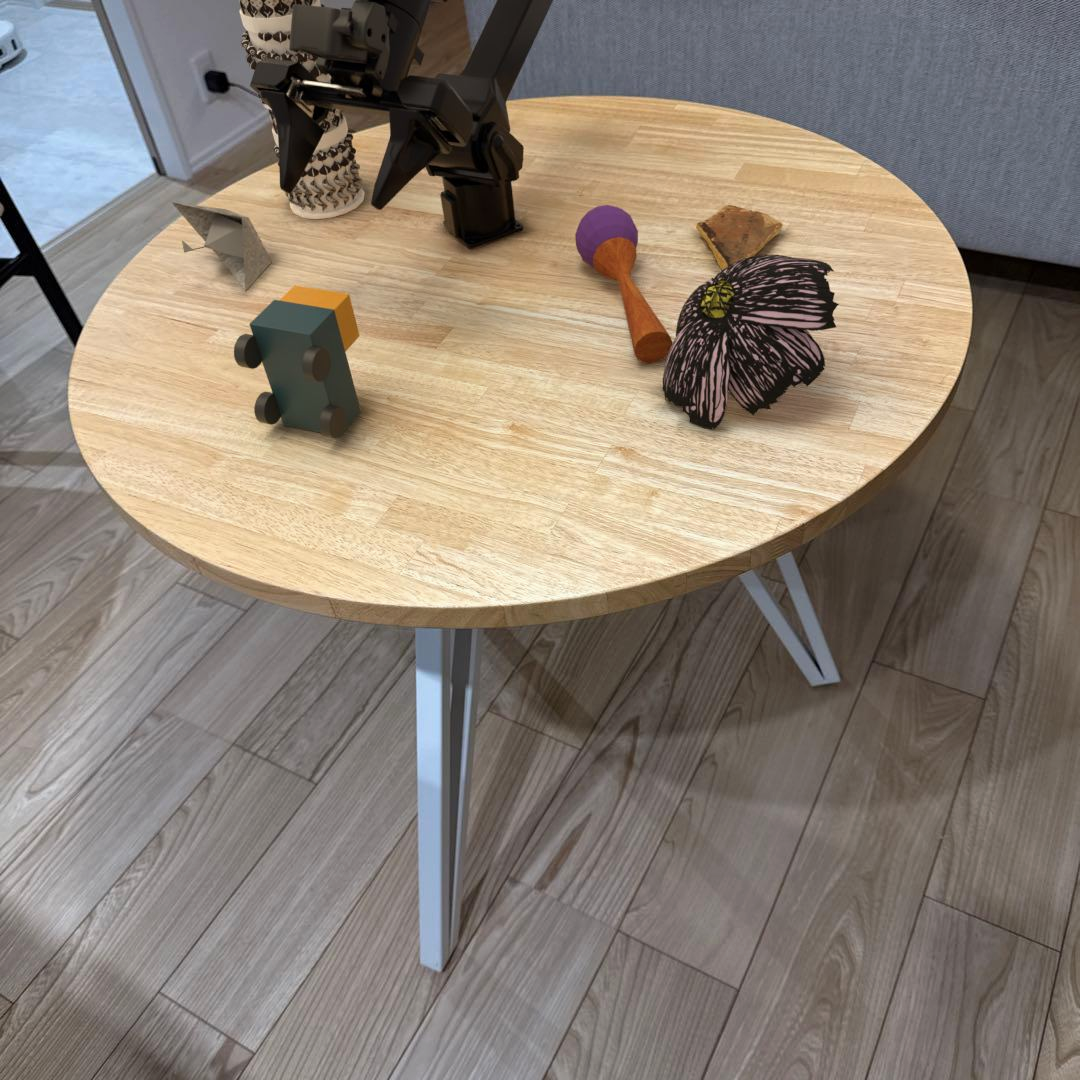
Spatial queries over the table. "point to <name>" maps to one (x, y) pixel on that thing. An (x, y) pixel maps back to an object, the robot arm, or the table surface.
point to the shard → (737, 233)
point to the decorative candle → (332, 165)
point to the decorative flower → (749, 336)
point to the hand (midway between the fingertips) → (329, 199)
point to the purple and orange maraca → (622, 275)
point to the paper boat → (228, 240)
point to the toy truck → (304, 360)
